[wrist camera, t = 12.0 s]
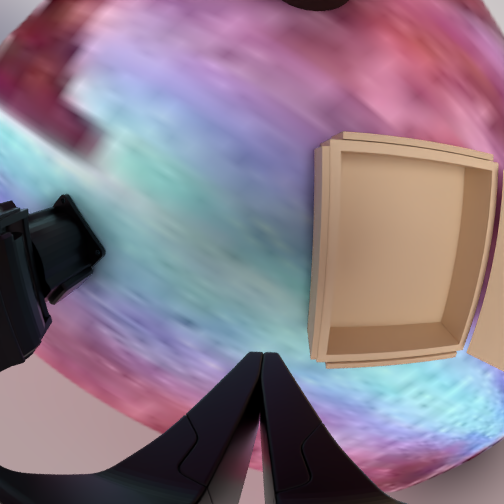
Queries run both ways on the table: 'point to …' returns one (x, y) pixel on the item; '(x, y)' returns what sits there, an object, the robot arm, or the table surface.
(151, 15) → the table surface
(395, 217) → the kraft box
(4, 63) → the table surface
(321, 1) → the coffee mug
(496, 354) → the flap
